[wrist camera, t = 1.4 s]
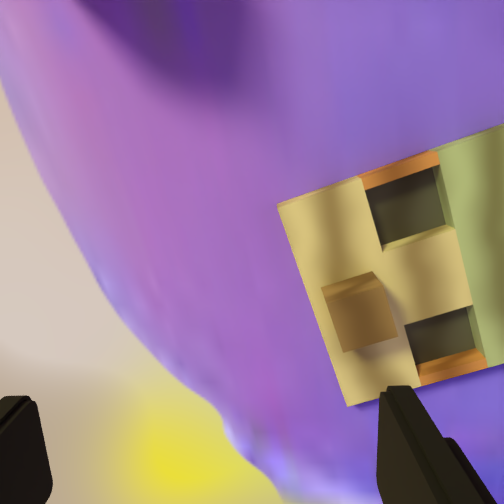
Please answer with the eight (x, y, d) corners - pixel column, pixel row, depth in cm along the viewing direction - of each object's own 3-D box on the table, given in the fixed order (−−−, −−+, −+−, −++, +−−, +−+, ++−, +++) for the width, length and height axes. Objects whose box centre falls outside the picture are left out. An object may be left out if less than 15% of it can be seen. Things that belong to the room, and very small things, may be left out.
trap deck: (514, 119, 32) (548, 117, 28) (554, 334, 37) (587, 357, 33) (276, 204, 35) (277, 212, 31) (343, 393, 40) (351, 421, 36)
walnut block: (372, 270, 34) (383, 286, 30) (385, 317, 35) (398, 336, 32) (320, 287, 34) (326, 304, 31) (336, 332, 36) (343, 353, 32)
